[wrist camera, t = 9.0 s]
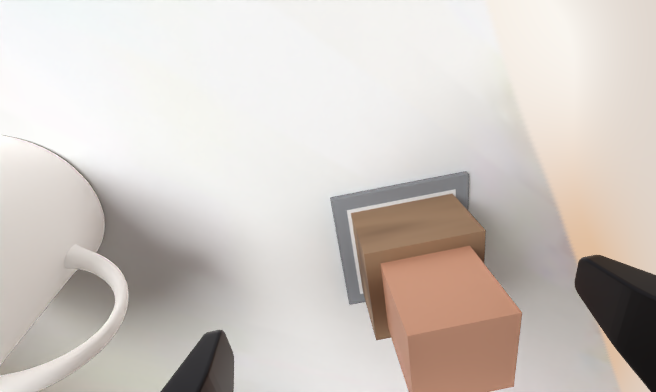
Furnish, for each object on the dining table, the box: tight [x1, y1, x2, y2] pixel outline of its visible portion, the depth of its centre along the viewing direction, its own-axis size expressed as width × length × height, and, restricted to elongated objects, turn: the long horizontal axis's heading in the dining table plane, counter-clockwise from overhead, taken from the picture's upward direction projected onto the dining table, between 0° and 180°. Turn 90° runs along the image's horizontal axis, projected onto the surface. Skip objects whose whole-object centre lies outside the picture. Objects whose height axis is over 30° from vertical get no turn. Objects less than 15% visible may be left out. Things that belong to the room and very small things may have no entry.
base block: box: [351, 194, 486, 340], centre depth 21 cm, size 6×6×4 cm
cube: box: [380, 246, 522, 392], centre depth 17 cm, size 4×4×4 cm
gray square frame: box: [330, 171, 469, 305], centre depth 23 cm, size 8×8×1 cm
